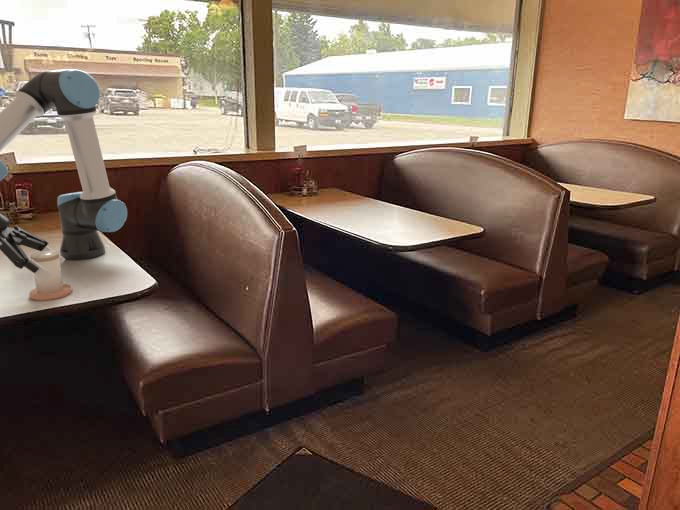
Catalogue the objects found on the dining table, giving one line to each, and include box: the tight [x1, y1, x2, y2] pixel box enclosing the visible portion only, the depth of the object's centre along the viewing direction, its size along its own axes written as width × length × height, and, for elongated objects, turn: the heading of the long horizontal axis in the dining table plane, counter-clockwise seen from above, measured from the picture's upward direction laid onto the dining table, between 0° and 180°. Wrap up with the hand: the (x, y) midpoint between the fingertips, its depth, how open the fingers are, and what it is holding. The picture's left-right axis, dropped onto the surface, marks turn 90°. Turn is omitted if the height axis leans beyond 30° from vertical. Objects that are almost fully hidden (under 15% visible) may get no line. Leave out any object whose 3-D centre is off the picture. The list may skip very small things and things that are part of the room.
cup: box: [30, 250, 64, 294], centre depth 152 cm, size 7×7×11 cm
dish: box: [28, 283, 73, 302], centre depth 153 cm, size 11×11×1 cm
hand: (55, 269), depth 152 cm, fingers open, 13 cm apart
